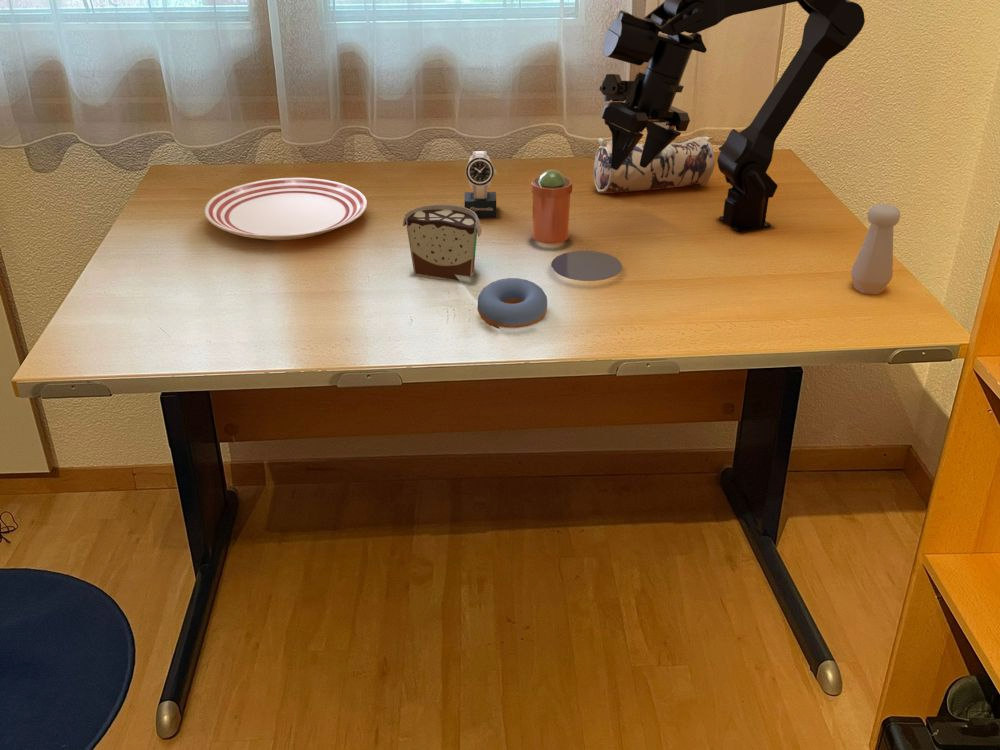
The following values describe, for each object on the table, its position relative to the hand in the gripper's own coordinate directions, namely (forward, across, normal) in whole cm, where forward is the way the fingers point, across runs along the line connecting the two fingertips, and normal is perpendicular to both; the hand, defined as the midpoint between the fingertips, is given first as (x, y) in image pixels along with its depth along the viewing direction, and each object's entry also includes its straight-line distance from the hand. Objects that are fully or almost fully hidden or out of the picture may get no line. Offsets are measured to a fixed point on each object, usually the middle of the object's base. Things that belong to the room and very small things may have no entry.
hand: (628, 167), depth 159 cm
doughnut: (+19, +31, +6) cm, 37 cm away
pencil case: (+8, -24, -6) cm, 26 cm away
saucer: (+14, +12, +6) cm, 20 cm away
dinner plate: (+28, +26, -45) cm, 59 cm away
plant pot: (+15, +7, -6) cm, 17 cm away
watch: (+18, +4, -22) cm, 29 cm away
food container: (+21, +24, -11) cm, 34 cm away
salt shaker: (+2, -8, +41) cm, 42 cm away
